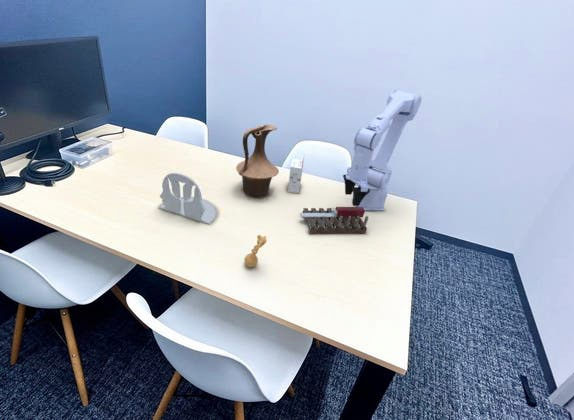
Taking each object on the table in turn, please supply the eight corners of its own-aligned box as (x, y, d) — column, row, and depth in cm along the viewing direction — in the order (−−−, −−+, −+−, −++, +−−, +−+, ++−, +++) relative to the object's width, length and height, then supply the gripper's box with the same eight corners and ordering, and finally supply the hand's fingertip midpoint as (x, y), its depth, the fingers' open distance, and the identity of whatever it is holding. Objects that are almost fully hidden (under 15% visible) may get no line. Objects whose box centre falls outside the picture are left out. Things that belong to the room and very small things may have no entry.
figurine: (250, 255, 104) (252, 223, 97) (268, 261, 102) (271, 229, 96) (239, 271, 97) (240, 239, 91) (258, 278, 95) (261, 245, 89)
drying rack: (352, 214, 127) (357, 198, 124) (365, 234, 117) (370, 218, 113) (301, 214, 126) (304, 198, 122) (310, 234, 115) (313, 218, 111)
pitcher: (253, 206, 128) (258, 136, 113) (226, 189, 139) (227, 123, 124) (284, 193, 139) (292, 127, 124) (256, 178, 149) (261, 116, 134)
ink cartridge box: (288, 182, 147) (293, 151, 139) (300, 184, 146) (305, 153, 138) (287, 192, 140) (291, 159, 132) (298, 193, 139) (303, 161, 131)
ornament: (157, 208, 124) (153, 167, 115) (178, 193, 134) (175, 154, 125) (209, 224, 117) (208, 182, 108) (226, 207, 127) (227, 167, 118)
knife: (360, 213, 123) (362, 206, 121) (363, 217, 121) (365, 210, 119) (300, 213, 121) (301, 206, 119) (301, 217, 118) (302, 210, 117)
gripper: (342, 155, 117) (334, 189, 124) (356, 174, 105) (347, 210, 112) (361, 156, 118) (352, 189, 125) (378, 174, 105) (367, 210, 113)
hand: (351, 199), depth 119 cm, fingers open, 7 cm apart
